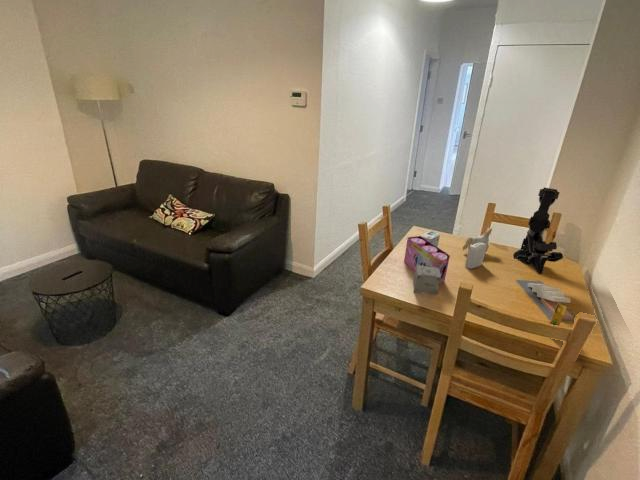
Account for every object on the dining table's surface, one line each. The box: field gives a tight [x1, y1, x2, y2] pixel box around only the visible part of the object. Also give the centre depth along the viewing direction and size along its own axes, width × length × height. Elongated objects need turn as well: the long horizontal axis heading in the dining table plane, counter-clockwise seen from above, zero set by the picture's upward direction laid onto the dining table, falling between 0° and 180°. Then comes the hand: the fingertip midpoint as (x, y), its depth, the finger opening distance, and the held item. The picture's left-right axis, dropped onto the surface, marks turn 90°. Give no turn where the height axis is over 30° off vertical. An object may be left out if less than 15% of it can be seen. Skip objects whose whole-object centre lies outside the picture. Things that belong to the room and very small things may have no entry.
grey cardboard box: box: [412, 265, 441, 295], centre depth 144 cm, size 10×8×10 cm
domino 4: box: [540, 298, 573, 320], centre depth 136 cm, size 2×6×12 cm
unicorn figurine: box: [462, 224, 493, 254], centre depth 181 cm, size 7×20×13 cm, turn 122°
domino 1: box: [528, 283, 560, 292], centre depth 146 cm, size 2×6×12 cm
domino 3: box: [537, 293, 571, 303], centre depth 138 cm, size 2×6×12 cm
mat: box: [515, 279, 576, 323], centre depth 143 cm, size 30×12×1 cm, turn 175°
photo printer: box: [464, 243, 487, 270], centre depth 167 cm, size 10×4×12 cm, turn 123°
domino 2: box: [532, 288, 565, 297], centre depth 142 cm, size 2×6×12 cm
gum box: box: [403, 235, 451, 284], centre depth 158 cm, size 24×8×14 cm, turn 20°
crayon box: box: [548, 300, 568, 327], centre depth 122 cm, size 7×3×12 cm, turn 138°
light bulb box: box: [419, 230, 441, 248], centre depth 178 cm, size 11×7×11 cm, turn 135°
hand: (540, 274), depth 148 cm, fingers closed
